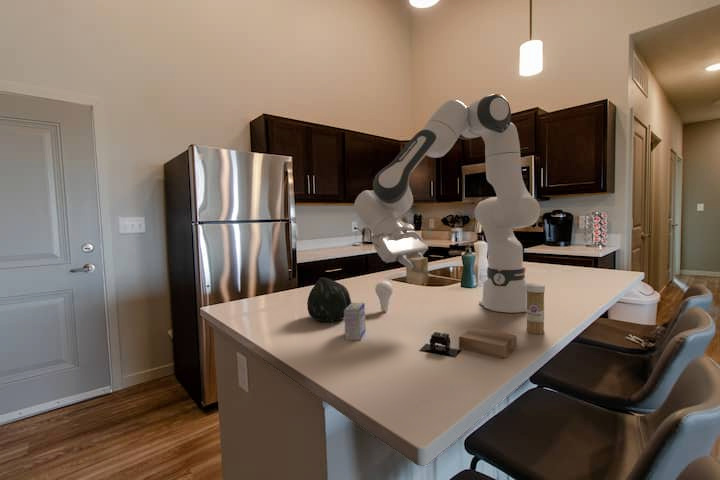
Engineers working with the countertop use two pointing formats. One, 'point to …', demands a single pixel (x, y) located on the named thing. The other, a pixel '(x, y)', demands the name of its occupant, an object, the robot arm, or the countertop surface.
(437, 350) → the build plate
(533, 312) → the sprinkles bottle
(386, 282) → the lightbulb
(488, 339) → the walnut base block
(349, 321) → the medicine box
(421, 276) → the oak block
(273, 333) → the countertop surface
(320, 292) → the squash
